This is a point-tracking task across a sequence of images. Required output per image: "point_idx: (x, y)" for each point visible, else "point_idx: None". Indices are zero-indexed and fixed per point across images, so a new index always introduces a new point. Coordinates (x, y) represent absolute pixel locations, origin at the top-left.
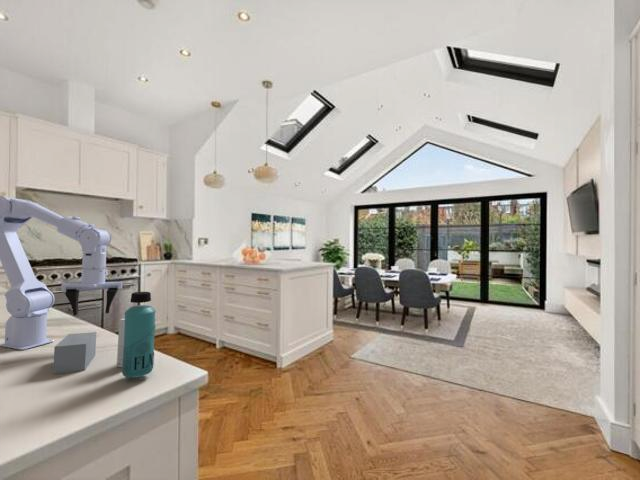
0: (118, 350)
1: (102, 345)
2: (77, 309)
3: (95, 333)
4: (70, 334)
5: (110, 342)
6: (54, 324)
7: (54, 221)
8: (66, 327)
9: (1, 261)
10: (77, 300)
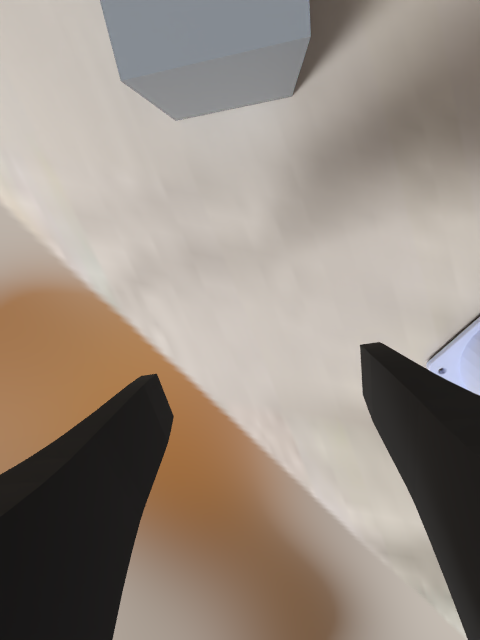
0: None
1: (208, 280)
2: (378, 406)
3: (111, 40)
4: (293, 17)
5: (192, 316)
6: None
7: None
8: None
9: None
10: (429, 503)
